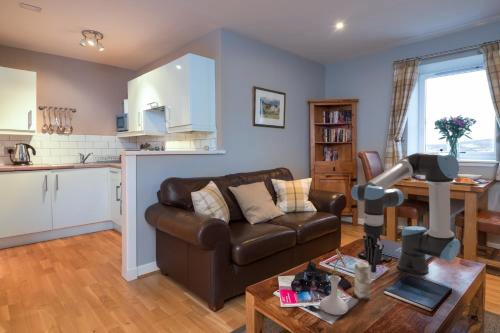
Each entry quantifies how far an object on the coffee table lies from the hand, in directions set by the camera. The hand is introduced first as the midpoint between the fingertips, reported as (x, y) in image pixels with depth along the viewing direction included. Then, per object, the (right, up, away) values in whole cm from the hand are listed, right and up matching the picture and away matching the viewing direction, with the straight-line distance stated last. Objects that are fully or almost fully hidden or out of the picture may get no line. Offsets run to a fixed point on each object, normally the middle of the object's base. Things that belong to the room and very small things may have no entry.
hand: (371, 278), depth 121 cm
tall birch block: (-1, -12, +9) cm, 15 cm away
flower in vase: (-16, -13, 0) cm, 20 cm away
